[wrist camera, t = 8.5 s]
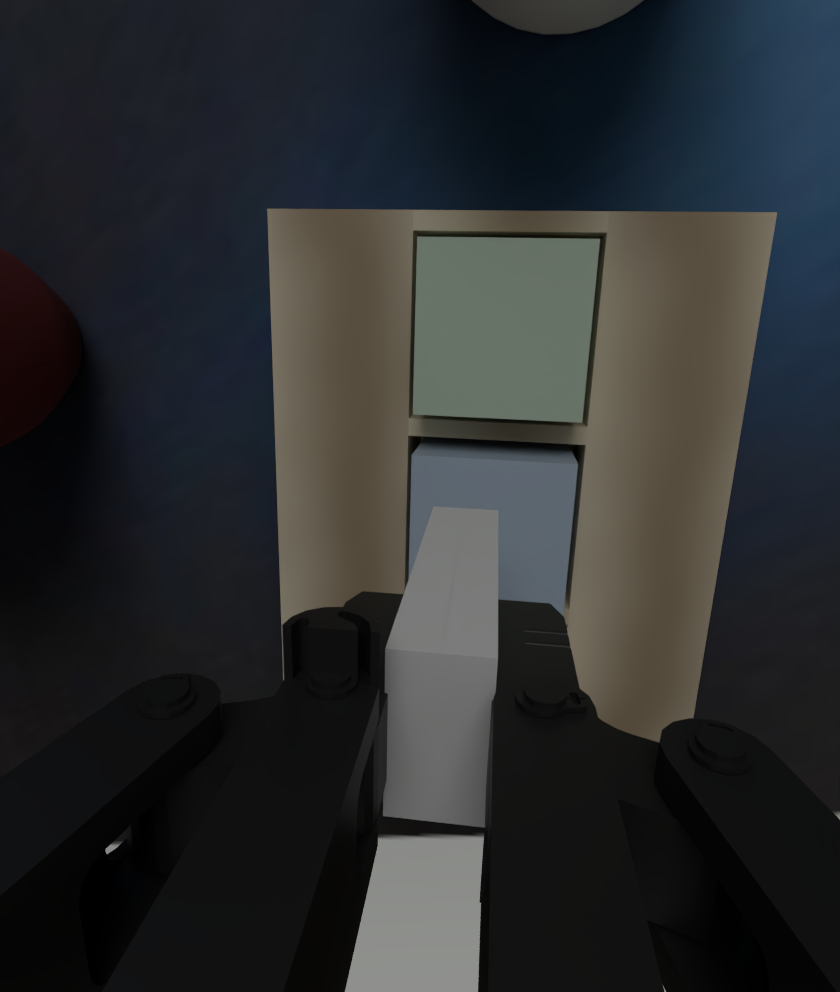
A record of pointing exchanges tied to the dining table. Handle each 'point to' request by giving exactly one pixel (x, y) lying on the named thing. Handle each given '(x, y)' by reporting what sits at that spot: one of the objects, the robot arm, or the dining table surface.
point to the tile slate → (504, 506)
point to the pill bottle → (556, 13)
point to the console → (528, 424)
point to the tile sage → (503, 327)
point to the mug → (32, 349)
